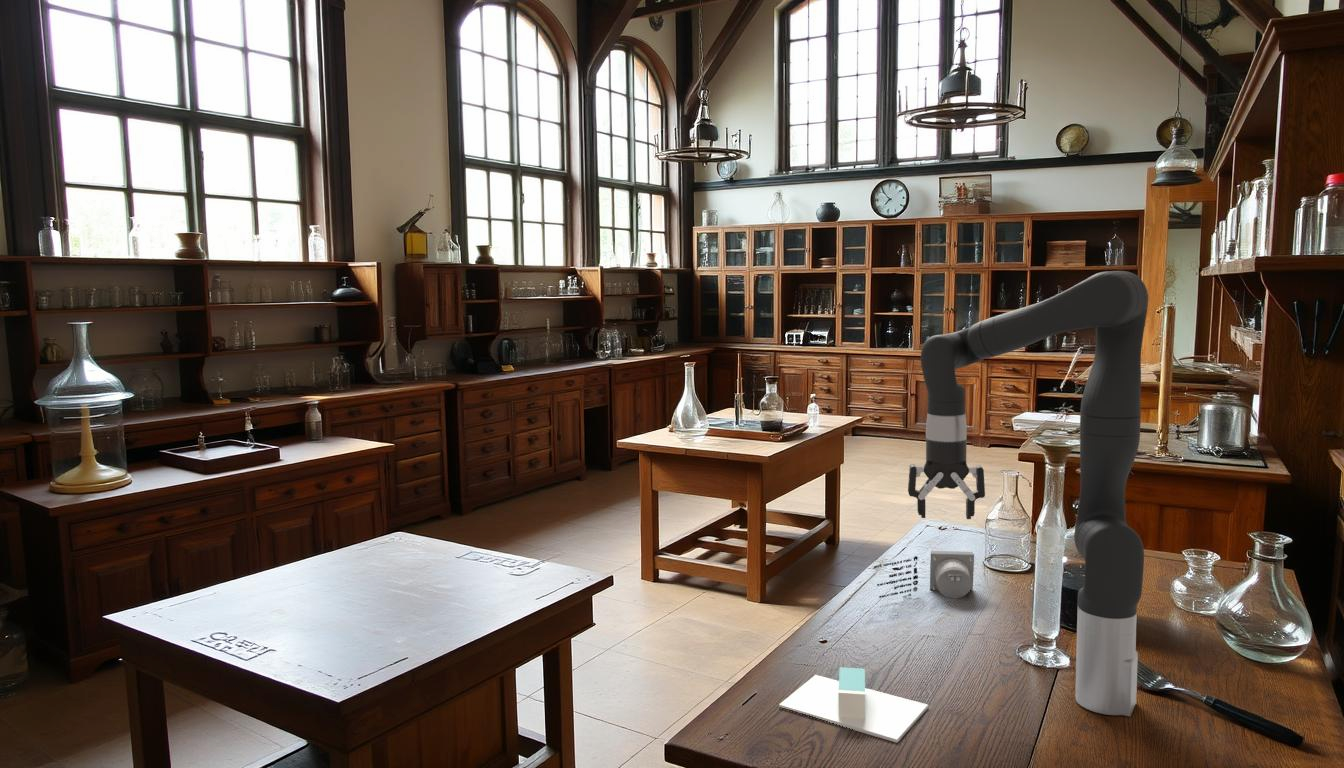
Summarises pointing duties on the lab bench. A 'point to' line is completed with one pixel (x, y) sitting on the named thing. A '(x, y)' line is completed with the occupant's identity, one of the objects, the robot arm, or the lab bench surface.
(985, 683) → the lab bench surface
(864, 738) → the lab bench surface
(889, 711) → the white board
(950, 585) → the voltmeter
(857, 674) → the teal block
